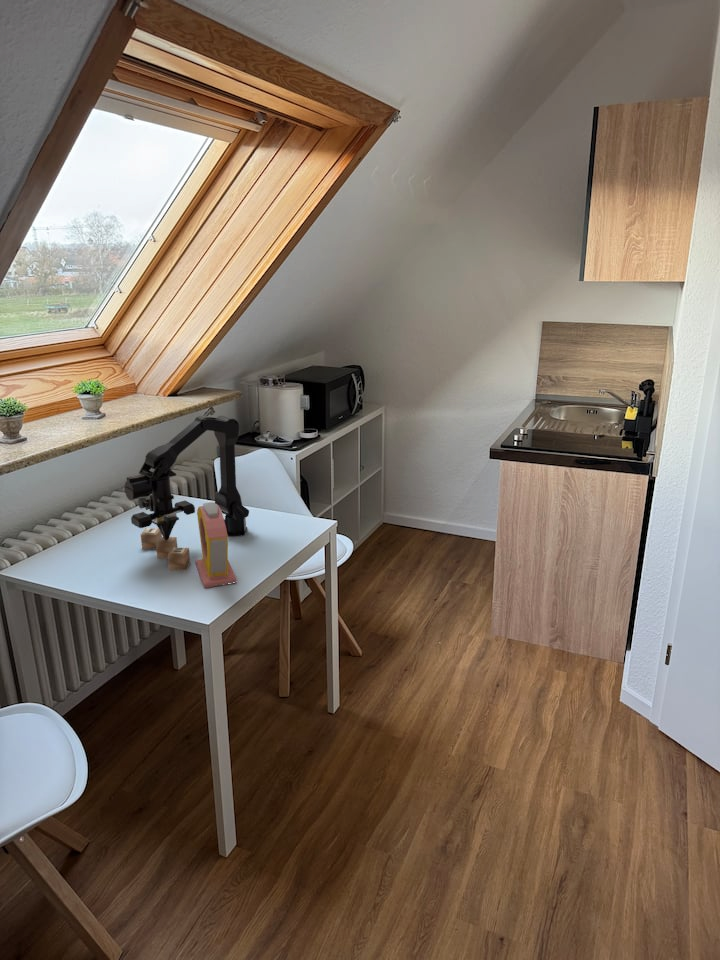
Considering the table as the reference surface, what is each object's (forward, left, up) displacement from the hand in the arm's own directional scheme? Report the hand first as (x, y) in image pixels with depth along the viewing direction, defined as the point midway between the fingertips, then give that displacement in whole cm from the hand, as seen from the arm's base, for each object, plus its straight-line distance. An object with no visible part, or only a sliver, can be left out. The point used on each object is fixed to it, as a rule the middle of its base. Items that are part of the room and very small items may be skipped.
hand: (166, 539), depth 214 cm
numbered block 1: (+7, -7, -5) cm, 11 cm away
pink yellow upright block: (-18, +13, -5) cm, 23 cm away
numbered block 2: (-6, +8, -5) cm, 11 cm away
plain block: (0, 0, -5) cm, 5 cm away
